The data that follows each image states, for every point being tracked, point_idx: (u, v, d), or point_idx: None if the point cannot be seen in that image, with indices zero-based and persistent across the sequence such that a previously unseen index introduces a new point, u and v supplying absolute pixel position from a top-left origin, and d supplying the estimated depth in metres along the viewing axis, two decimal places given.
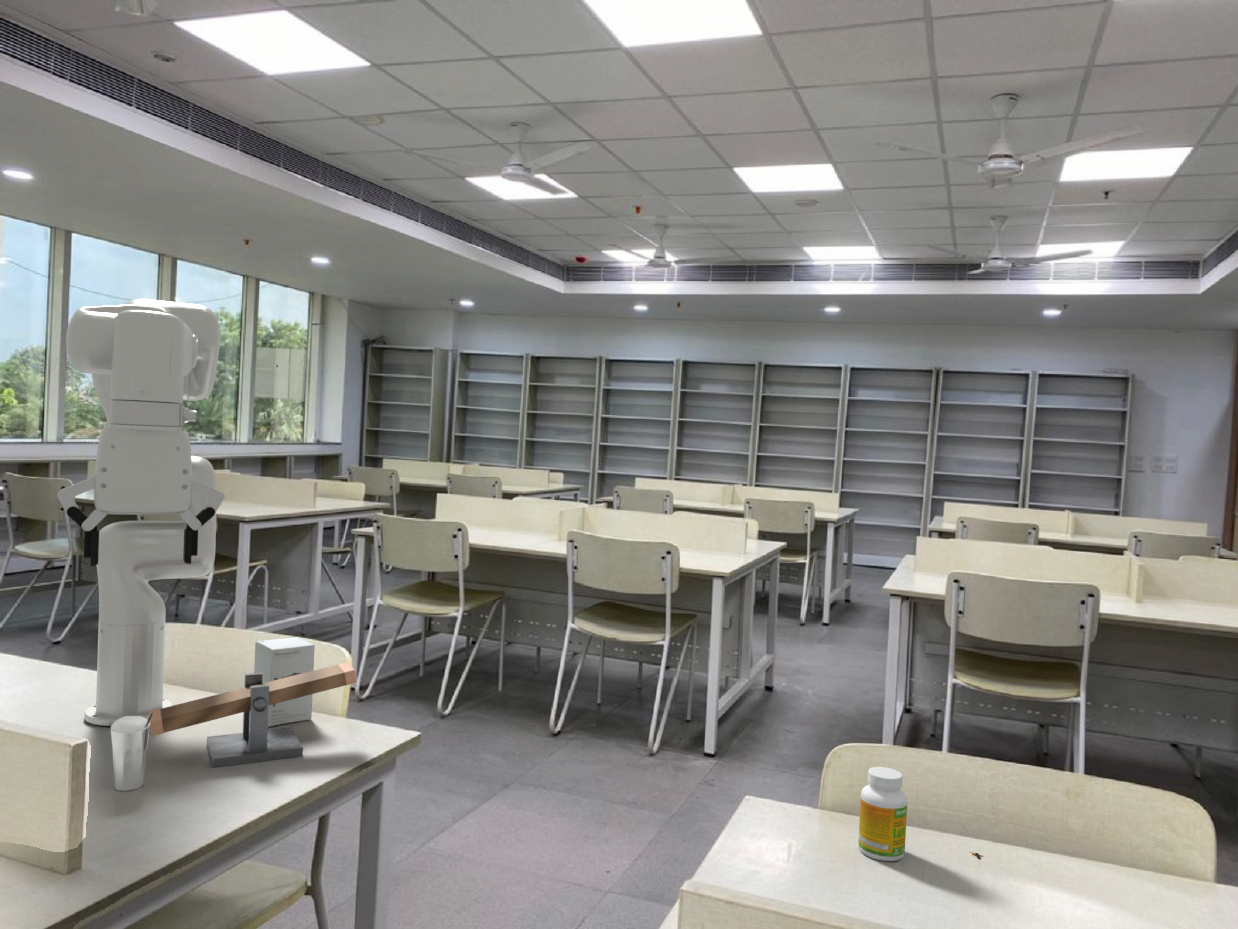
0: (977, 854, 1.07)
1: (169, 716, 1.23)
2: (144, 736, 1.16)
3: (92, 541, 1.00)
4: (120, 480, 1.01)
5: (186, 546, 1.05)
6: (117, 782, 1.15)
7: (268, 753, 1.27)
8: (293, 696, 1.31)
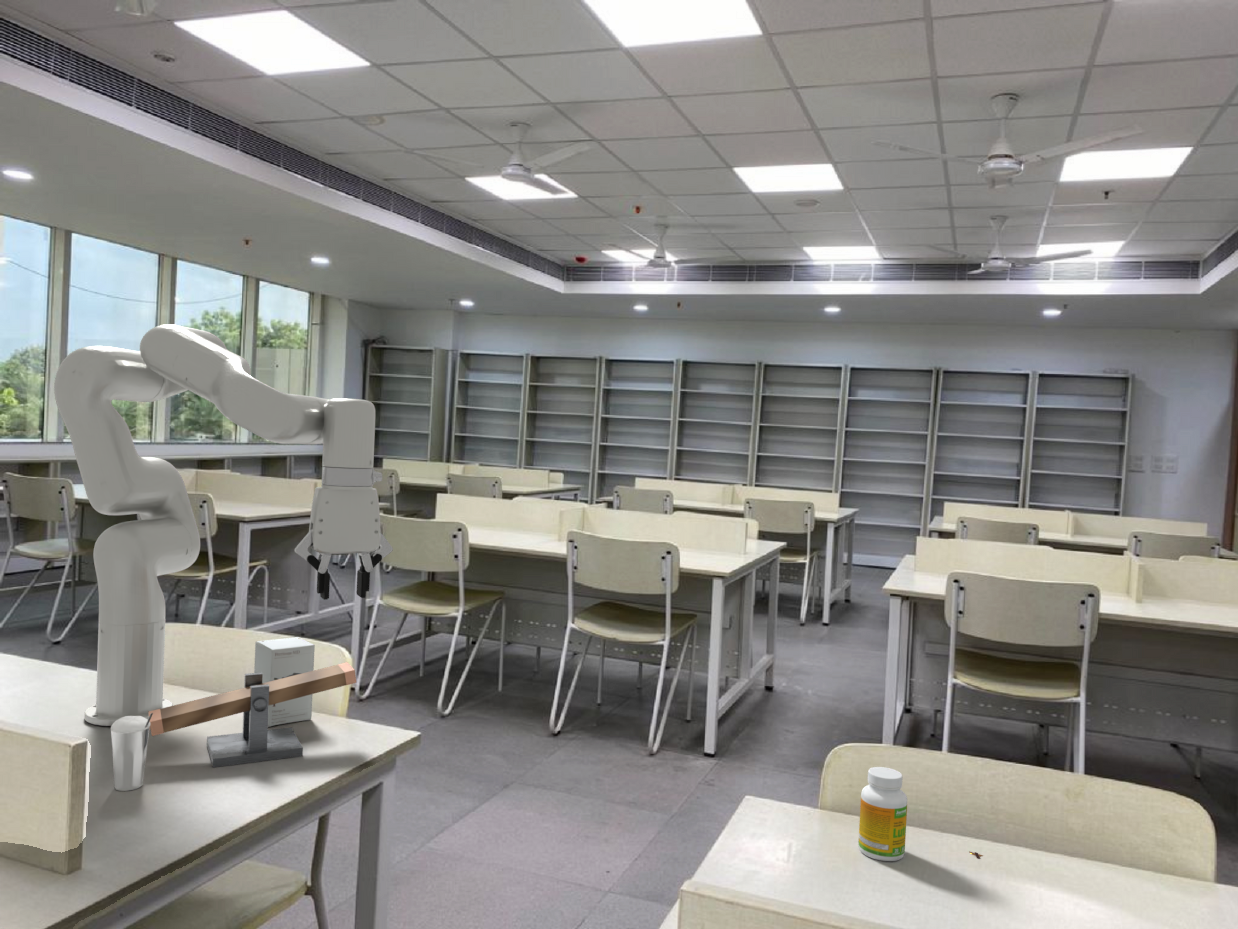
0: (976, 854, 1.07)
1: (169, 716, 1.23)
2: (144, 736, 1.16)
3: (325, 581, 1.34)
4: (332, 528, 1.33)
5: (362, 584, 1.36)
6: (117, 782, 1.15)
7: (268, 753, 1.27)
8: (293, 696, 1.31)
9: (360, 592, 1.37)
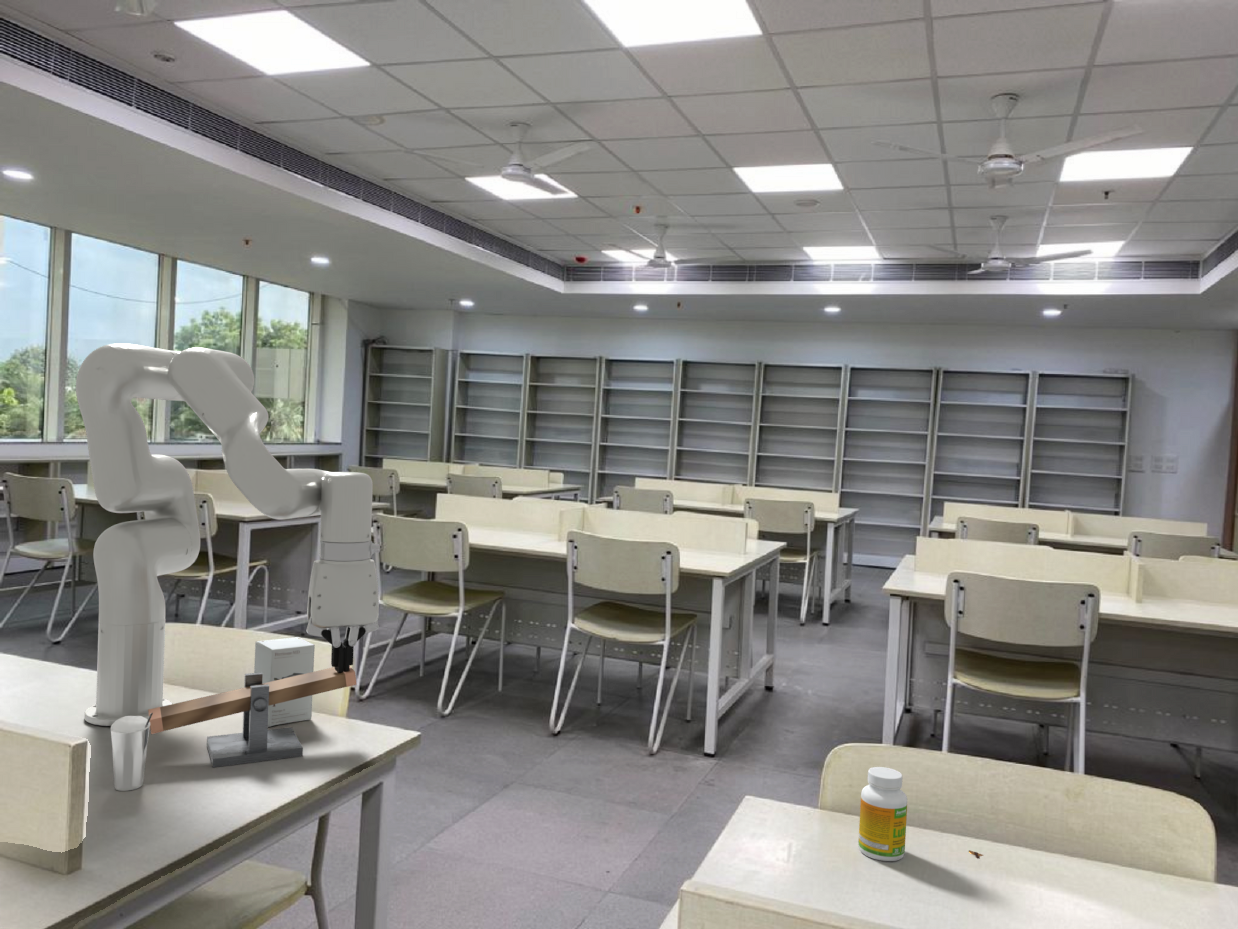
0: (976, 853, 1.07)
1: (169, 715, 1.23)
2: (144, 736, 1.16)
3: (340, 655, 1.35)
4: (330, 603, 1.33)
5: (346, 659, 1.36)
6: (117, 782, 1.15)
7: (268, 753, 1.27)
8: (293, 697, 1.31)
9: None
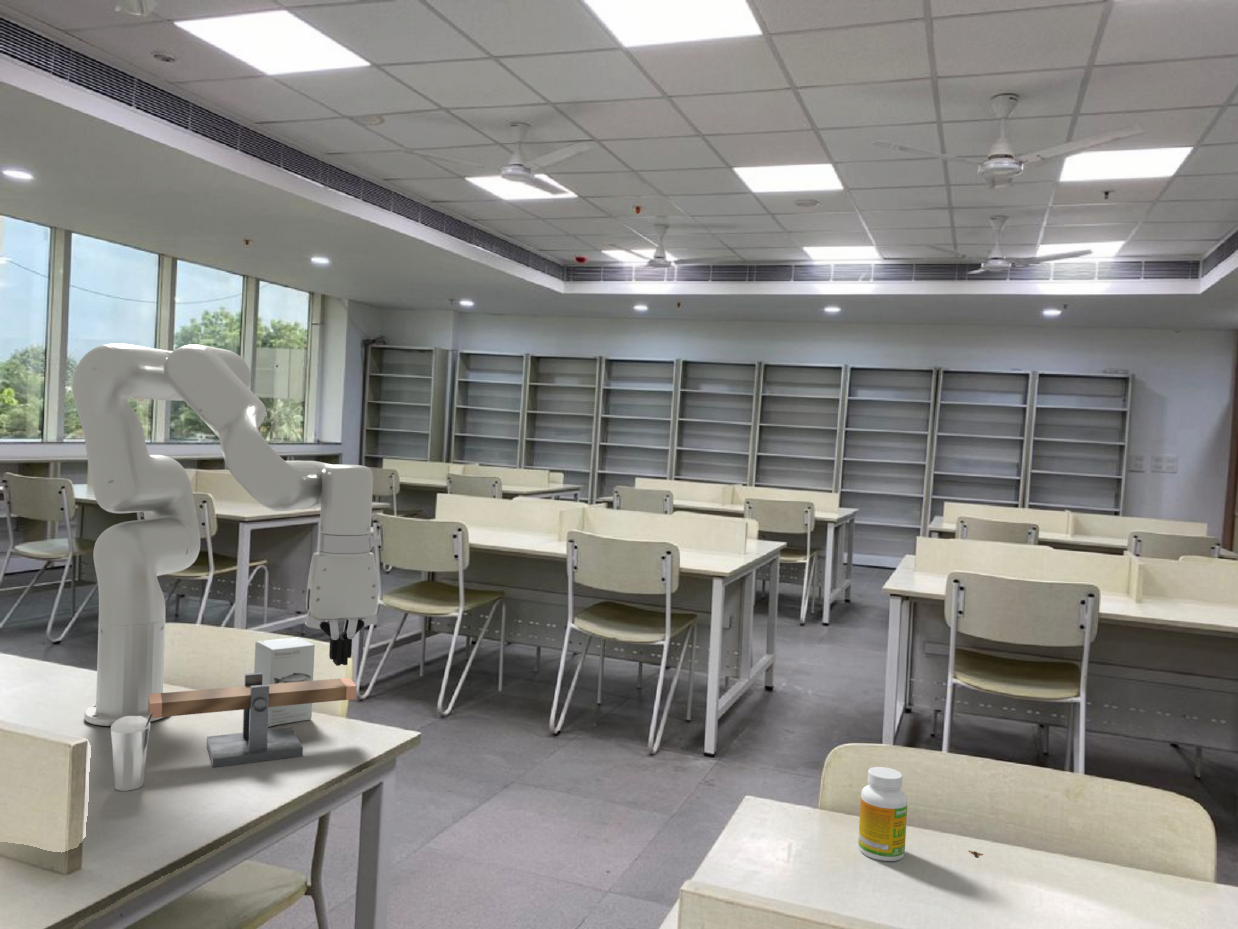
0: (975, 853, 1.08)
1: (170, 702, 1.23)
2: (144, 736, 1.16)
3: (338, 647, 1.35)
4: (329, 595, 1.33)
5: (344, 652, 1.36)
6: (117, 782, 1.15)
7: (268, 753, 1.27)
8: (293, 702, 1.31)
9: (342, 659, 1.36)
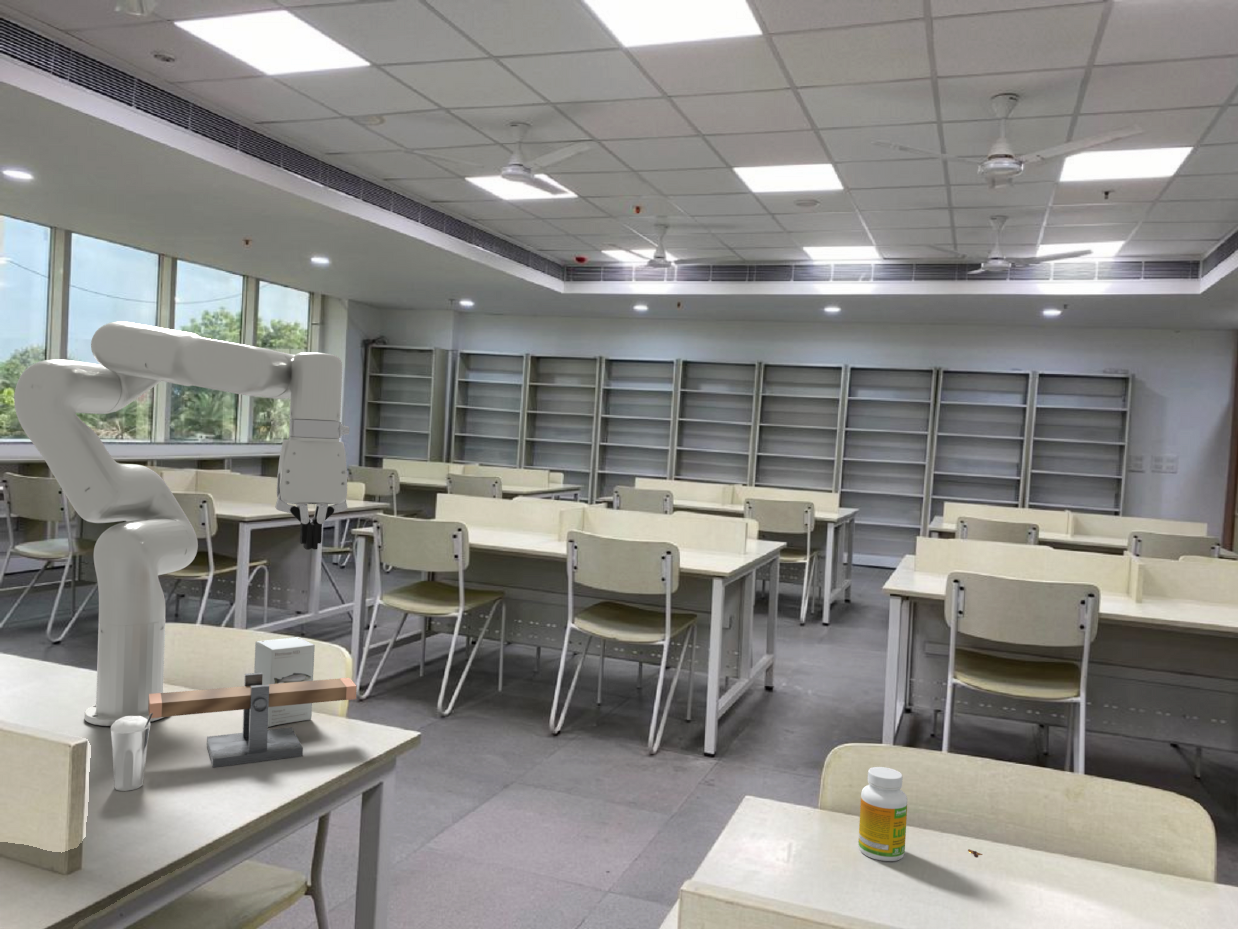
0: (975, 852, 1.08)
1: (170, 702, 1.23)
2: (144, 736, 1.16)
3: (308, 531, 1.38)
4: (299, 479, 1.36)
5: (314, 536, 1.38)
6: (117, 782, 1.15)
7: (268, 753, 1.27)
8: (293, 702, 1.31)
9: (312, 544, 1.39)
